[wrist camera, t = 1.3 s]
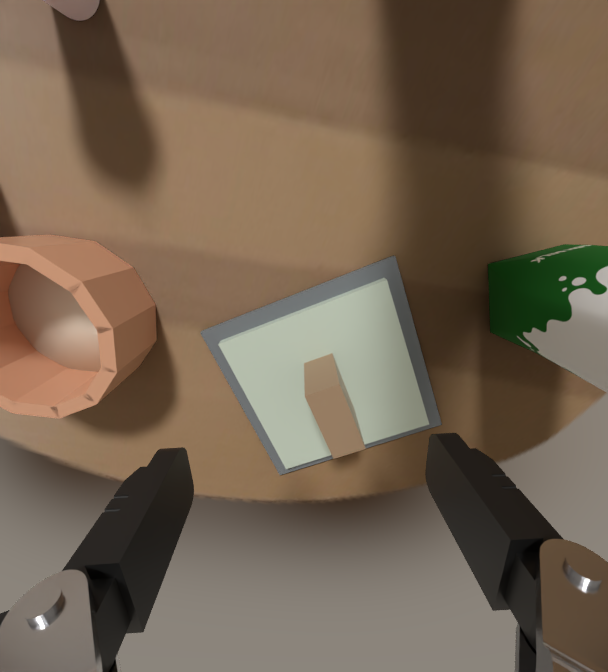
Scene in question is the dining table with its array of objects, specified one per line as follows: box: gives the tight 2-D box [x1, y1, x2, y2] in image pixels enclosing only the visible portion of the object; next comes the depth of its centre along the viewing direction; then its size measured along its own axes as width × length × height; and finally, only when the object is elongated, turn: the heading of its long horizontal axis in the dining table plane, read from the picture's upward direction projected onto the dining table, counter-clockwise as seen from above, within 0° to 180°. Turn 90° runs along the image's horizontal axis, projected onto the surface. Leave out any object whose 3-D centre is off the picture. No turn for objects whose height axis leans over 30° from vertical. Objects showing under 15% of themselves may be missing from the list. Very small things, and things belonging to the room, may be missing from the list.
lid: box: [218, 278, 429, 469], centre depth 28 cm, size 17×17×7 cm
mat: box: [200, 255, 442, 475], centre depth 32 cm, size 20×20×1 cm
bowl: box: [0, 235, 157, 418], centre depth 26 cm, size 14×14×7 cm
